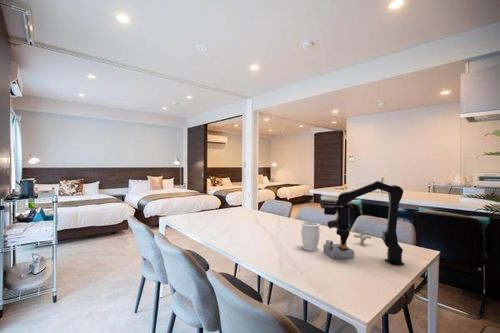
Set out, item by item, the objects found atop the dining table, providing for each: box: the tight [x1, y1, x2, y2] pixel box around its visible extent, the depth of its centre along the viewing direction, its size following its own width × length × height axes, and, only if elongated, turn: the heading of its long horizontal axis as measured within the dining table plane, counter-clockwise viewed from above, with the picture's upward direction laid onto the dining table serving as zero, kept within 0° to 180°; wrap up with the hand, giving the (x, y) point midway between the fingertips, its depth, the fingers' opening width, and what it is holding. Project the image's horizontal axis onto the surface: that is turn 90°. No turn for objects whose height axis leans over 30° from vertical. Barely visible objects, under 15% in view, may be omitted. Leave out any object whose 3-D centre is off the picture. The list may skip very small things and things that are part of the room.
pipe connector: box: [353, 227, 372, 246], centre depth 152 cm, size 10×10×10 cm
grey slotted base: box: [323, 239, 355, 260], centre depth 133 cm, size 12×12×6 cm
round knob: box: [339, 237, 348, 249], centre depth 132 cm, size 4×4×8 cm
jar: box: [301, 221, 321, 252], centre depth 143 cm, size 11×10×15 cm
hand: (343, 244), depth 132 cm, fingers closed on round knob, 3 cm apart
